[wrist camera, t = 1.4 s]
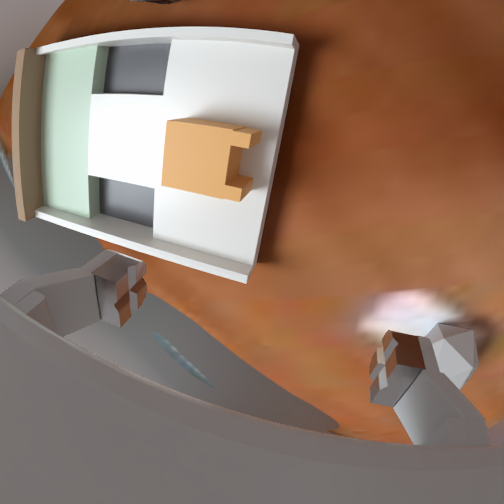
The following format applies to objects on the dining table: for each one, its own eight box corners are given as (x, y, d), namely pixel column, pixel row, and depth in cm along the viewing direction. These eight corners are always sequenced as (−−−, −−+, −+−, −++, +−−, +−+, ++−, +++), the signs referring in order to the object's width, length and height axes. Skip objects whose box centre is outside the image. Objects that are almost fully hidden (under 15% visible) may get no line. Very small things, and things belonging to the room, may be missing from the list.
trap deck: (51, 50, 29) (17, 50, 23) (299, 45, 24) (290, 28, 18) (48, 203, 40) (18, 218, 35) (256, 263, 35) (240, 294, 30)
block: (187, 117, 27) (166, 120, 24) (262, 129, 26) (251, 132, 23) (180, 175, 30) (161, 185, 27) (251, 191, 29) (239, 203, 26)
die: (394, 339, 36) (409, 411, 31) (431, 315, 29) (451, 402, 23) (441, 329, 37) (456, 393, 32) (479, 303, 30) (499, 379, 24)
